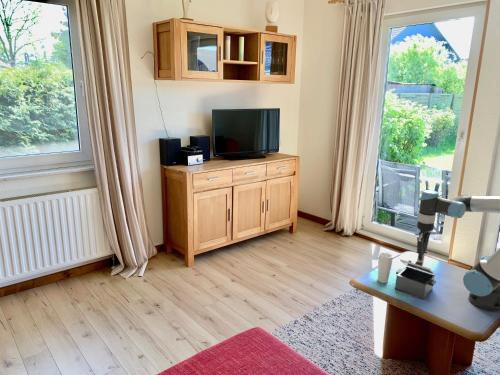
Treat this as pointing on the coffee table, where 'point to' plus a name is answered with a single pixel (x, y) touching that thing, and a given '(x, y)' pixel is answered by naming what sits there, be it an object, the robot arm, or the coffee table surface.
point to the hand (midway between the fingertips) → (419, 264)
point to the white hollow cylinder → (384, 267)
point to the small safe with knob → (414, 282)
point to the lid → (417, 266)
